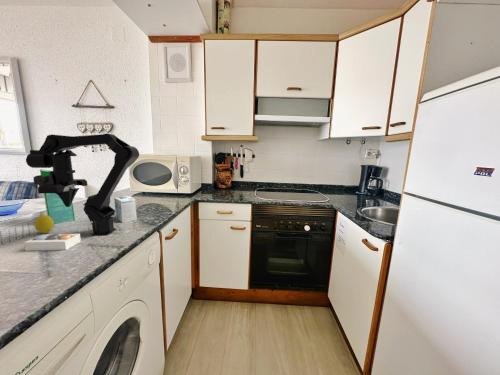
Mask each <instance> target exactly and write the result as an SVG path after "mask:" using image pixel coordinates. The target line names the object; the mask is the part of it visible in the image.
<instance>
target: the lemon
mask: <svg viewBox="0 0 500 375" xmlns="http://www.w3.org/2000/svg"><path fill="white" fill-rule="evenodd" d="M54 225H55V224H54V222H53V220H52V218H51V217H50V216H47V214H46V215H45V214H41V215H40V216H38V217H36V218H35V221H34V229H35V230H36V231H37V232H38V233H41V234H48V233H49V232H50V231H52V229H54Z"/></svg>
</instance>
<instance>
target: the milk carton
mask: <svg viewBox="0 0 500 375" xmlns="http://www.w3.org/2000/svg"><path fill="white" fill-rule="evenodd" d="M50 171H51V170H50V169H49V170H48V169H43V168H40V169H39V174H40V175H42V176H43V177H45V176H49V175H50V174H49V172H50ZM43 196H44V205H45V209H46V215H47V216H50V217H51V218H52V220H53V222H54V225H56V223H57V224H62V223H67V222H66V221H68V222H72V220H74V221H76V220H75V218H76V216H75V211H74V203H73V202H72V203H71V206H70V207H66V206H65V205H64V203H63V201H62V200H61V198H60V197H59V196H58V195H57V194H55V193H43ZM61 222H62V223H61Z"/></svg>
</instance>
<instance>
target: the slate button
mask: <svg viewBox="0 0 500 375" xmlns="http://www.w3.org/2000/svg"><path fill="white" fill-rule="evenodd" d="M47 234H48V233H46V234H45V233H41V234H37V235H35V236H34V238H35V240H43V239H46V238H47Z"/></svg>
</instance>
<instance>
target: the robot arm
mask: <svg viewBox="0 0 500 375" xmlns="http://www.w3.org/2000/svg"><path fill="white" fill-rule="evenodd" d="M102 145H106V147H108V148H109V149H110V150H111V152H113V153H114V161H113V162H114V164H113V166H112V167H111V169H110V171H109V173H108V175H107V176H106V177H105V180H104V181H103V183H102V184H101V187H100V188H99V190H98V192H97V193H96V194H92V195H89V196H87V199H86V201H85V203H83V212H84V213H85V215H86V216H87V217H88V219H89V221H90V223H91V226H92V233H91V236H108V235H110V234H111V233H113V232H115V231H116V230H117V228H116V227H115V225H114V217H113V216H115V215H116V212H115V208H113V207H111V206H110V204H111V196H112V195H113V192H115V190H116V188H117V186H118V184H119V183H120V181H121V180H122V178H123V176H124V175H125V173H126V171H127V169H129V167H131V166H132V165H133V164H134V163H135V162H136V161H137V159H139V156H140V152H139V149H138V148H136V147H135V146H131V145H130V144H128V143H127V142H125V141H123V140H122V139H120V138H119V137H118V136H117V135H115V134H113V133H103V134H102V133H101V134H90V135H88V134H87V135H78V136H77V135H75V136H72V135H60V134H48V135H46V137H45V140H44V142H43V143H42V145H41V146H40V148H39V149H30V150H29V153H28V155H27V156H26V158H25V163H26V165H27V166H28V167H30V168H33V169H39V168H40V169H50V168H51V169H52V170H49V171H50V172H49V174H50V175H49V176H45V177H43V176H42V175H41V174H40V175H35V176H33V184H34V185H37V186H38V187H37V193H38V194H44V193H55V194H57V195H58V196H59V197H60V198H61V200H62V201H63V203H64V205H65V206H66V207H70V206H71V203H73V201H74V199H75V196H76V195H77V193H78V191H79V190H80V188H78V187H77V186H82V187H87V186H88V181H87V180H86V179H85V178H77V179H76V178H74V173H75V174H76V169H73V164H72V157H77V156H78V154H76V153H75V152H74V151H72V150H74V149H77V148H80V147H87V146H89V147H90V146H102Z"/></svg>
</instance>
